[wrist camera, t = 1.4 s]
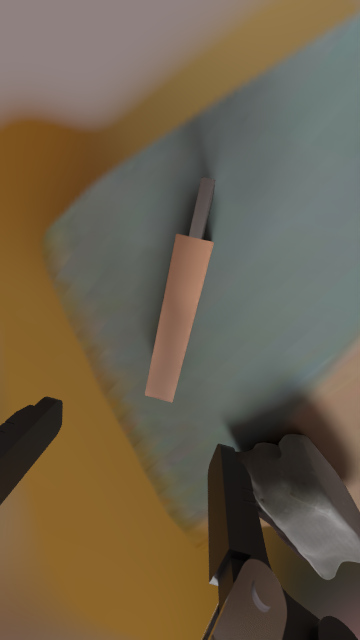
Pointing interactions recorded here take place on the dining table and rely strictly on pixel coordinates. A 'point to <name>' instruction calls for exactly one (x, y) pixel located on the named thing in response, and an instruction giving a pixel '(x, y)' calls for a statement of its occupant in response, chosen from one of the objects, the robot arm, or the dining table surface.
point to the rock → (304, 502)
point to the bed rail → (181, 299)
